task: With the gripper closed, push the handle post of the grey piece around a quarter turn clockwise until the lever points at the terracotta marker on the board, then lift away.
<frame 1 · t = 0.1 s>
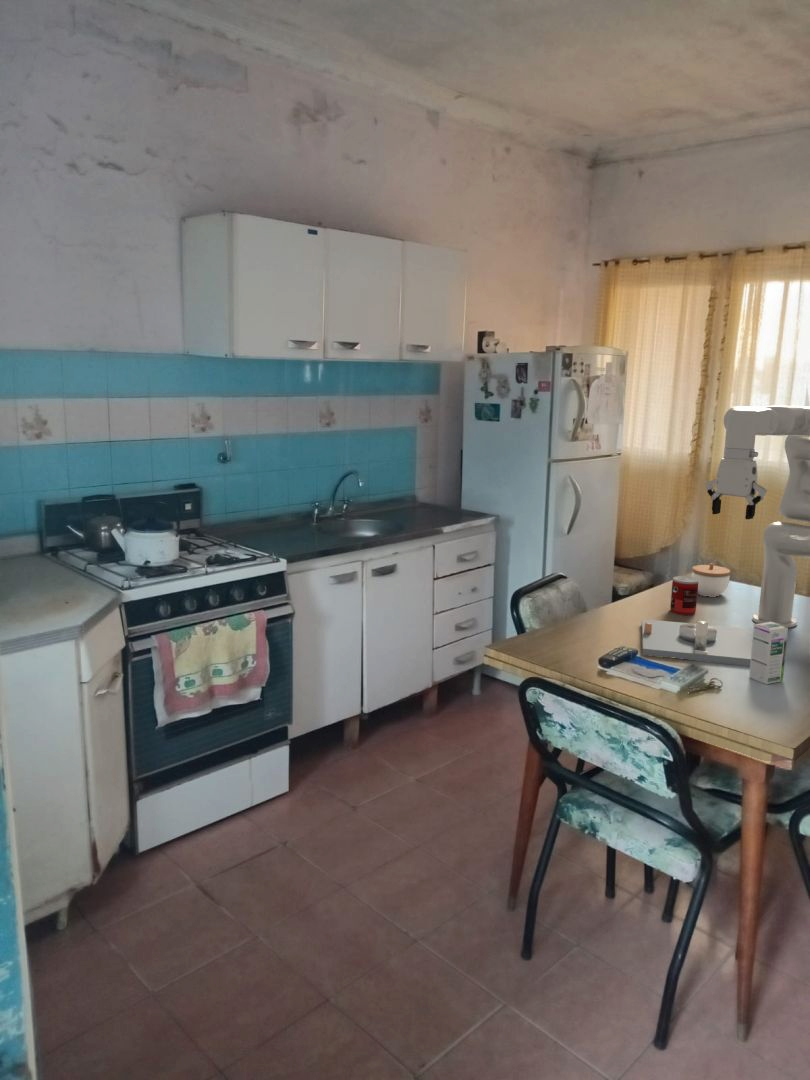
hand: (732, 516, 228), 37 cm above the table, tool pointing down, fingers open, 9 cm apart
syrup box: (765, 680, 209), on the table
lidded bowl: (708, 594, 287), on the table
canned food: (682, 612, 266), on the table
board: (696, 644, 235), on the table
grey piece: (699, 628, 230), point 6 cm above the table, hinge at 0.0°
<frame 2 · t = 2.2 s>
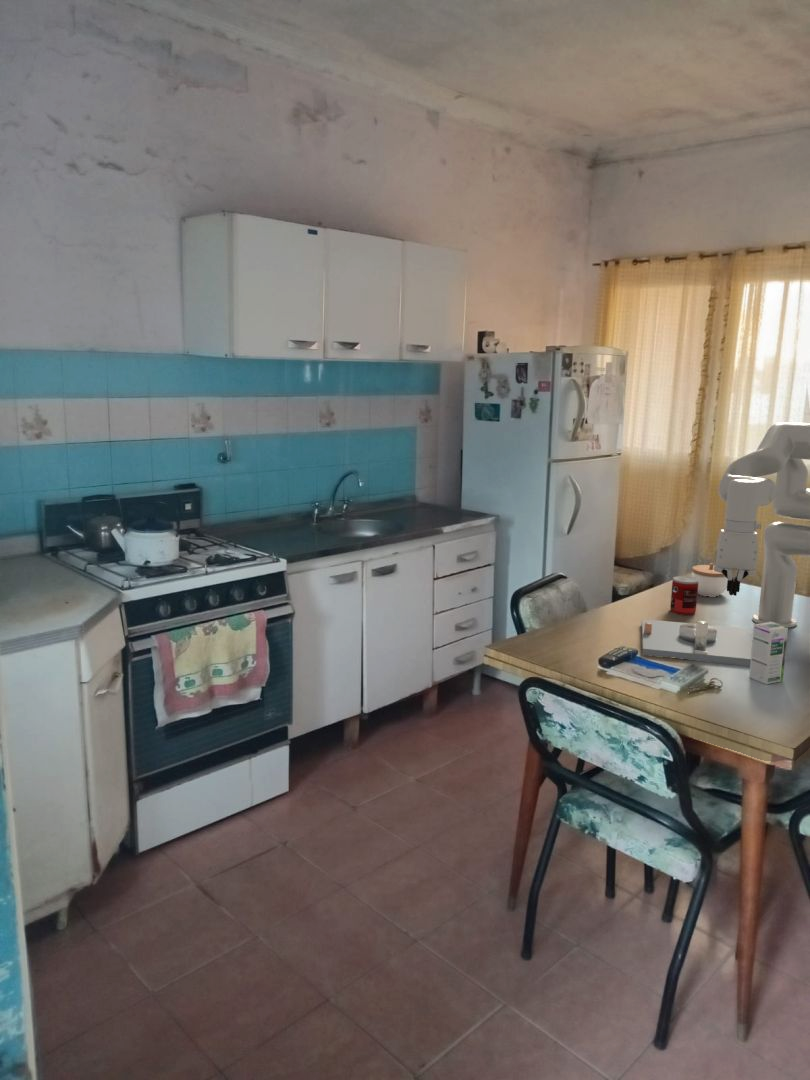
hand: (732, 594, 219), 18 cm above the table, tool pointing down, fingers closed
nothing on the table moved.
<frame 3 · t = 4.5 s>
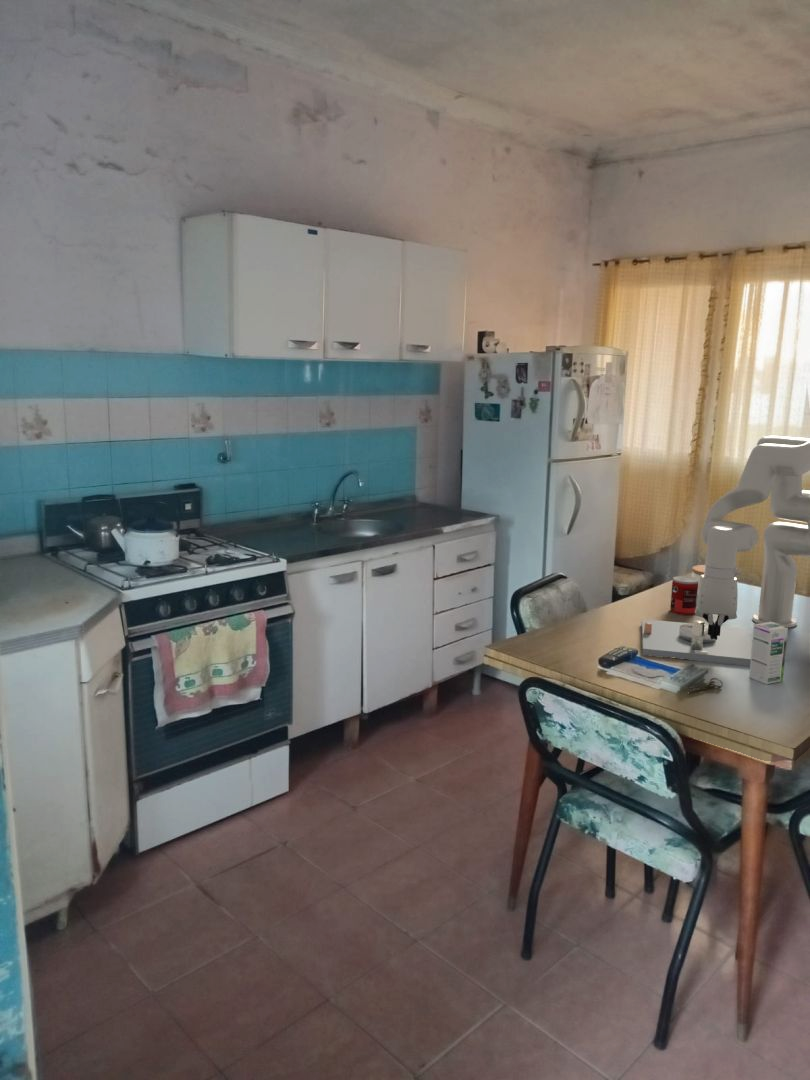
hand: (713, 637, 223), 6 cm above the table, tool pointing down, fingers closed
grey piece: (698, 628, 230), point 6 cm above the table, hinge at -5.2°, touching gripper
everything else where it was.
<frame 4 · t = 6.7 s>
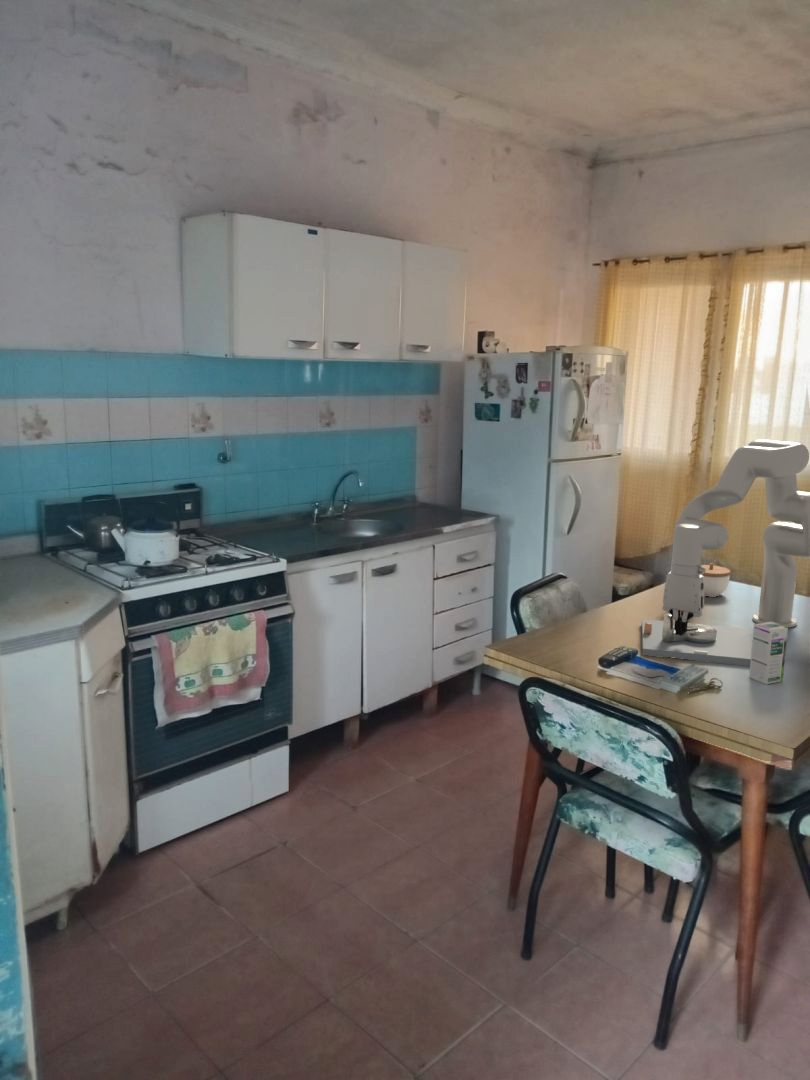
hand: (680, 633, 227), 5 cm above the table, tool pointing down, fingers closed
grey piece: (688, 625, 232), point 6 cm above the table, hinge at -56.6°, touching gripper
everything else where it was.
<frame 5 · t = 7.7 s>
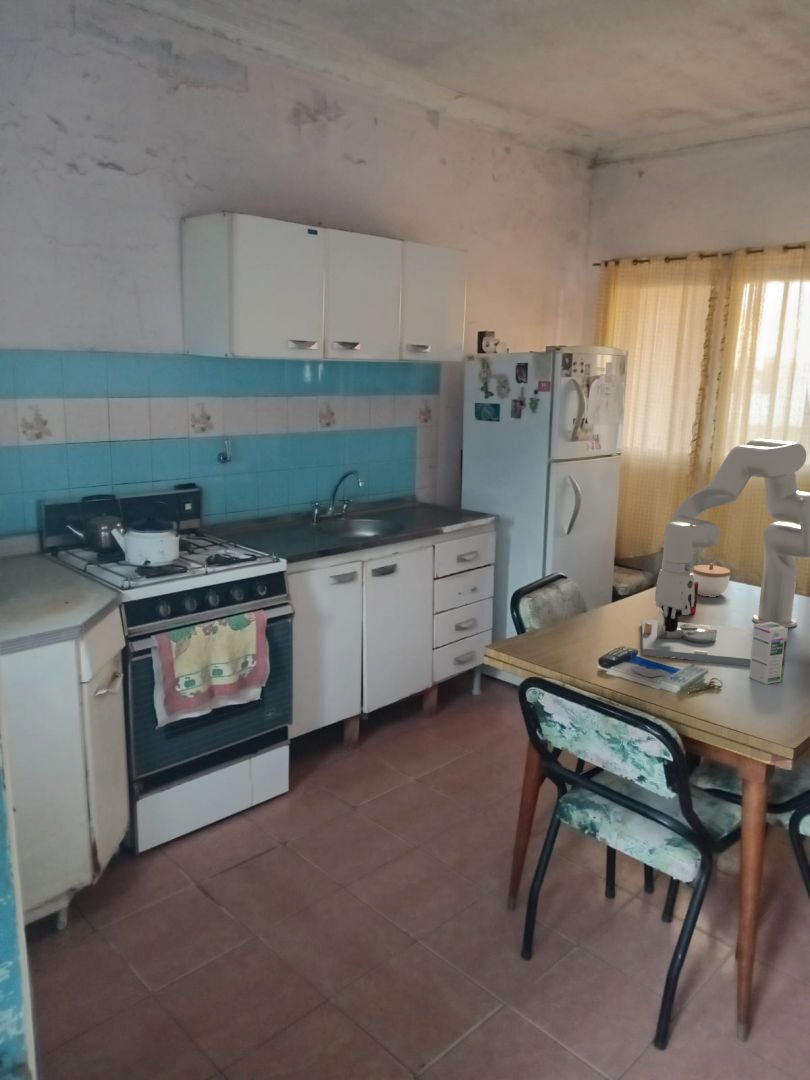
hand: (670, 630, 230), 5 cm above the table, tool pointing down, fingers closed
grey piece: (687, 624, 233), point 6 cm above the table, hinge at -75.2°, touching gripper
everything else where it was.
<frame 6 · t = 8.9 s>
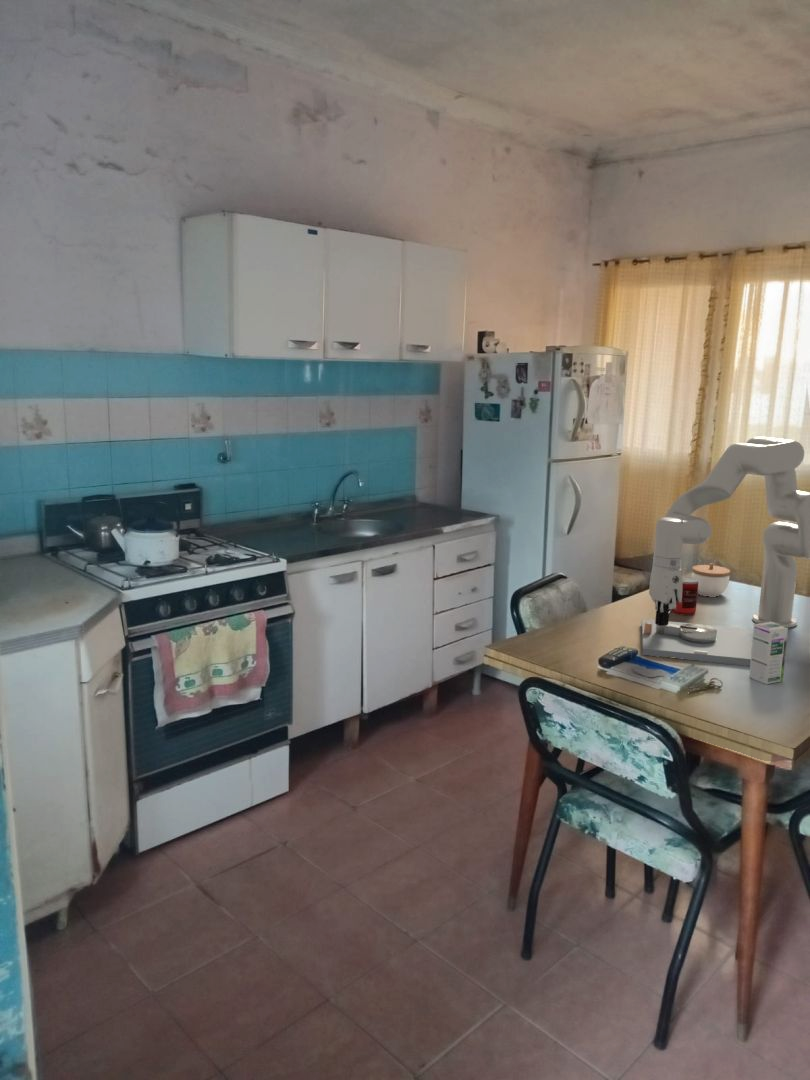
hand: (661, 624, 234), 6 cm above the table, tool pointing down, fingers closed
grey piece: (686, 623, 235), point 6 cm above the table, hinge at -99.9°, touching gripper
everything else where it was.
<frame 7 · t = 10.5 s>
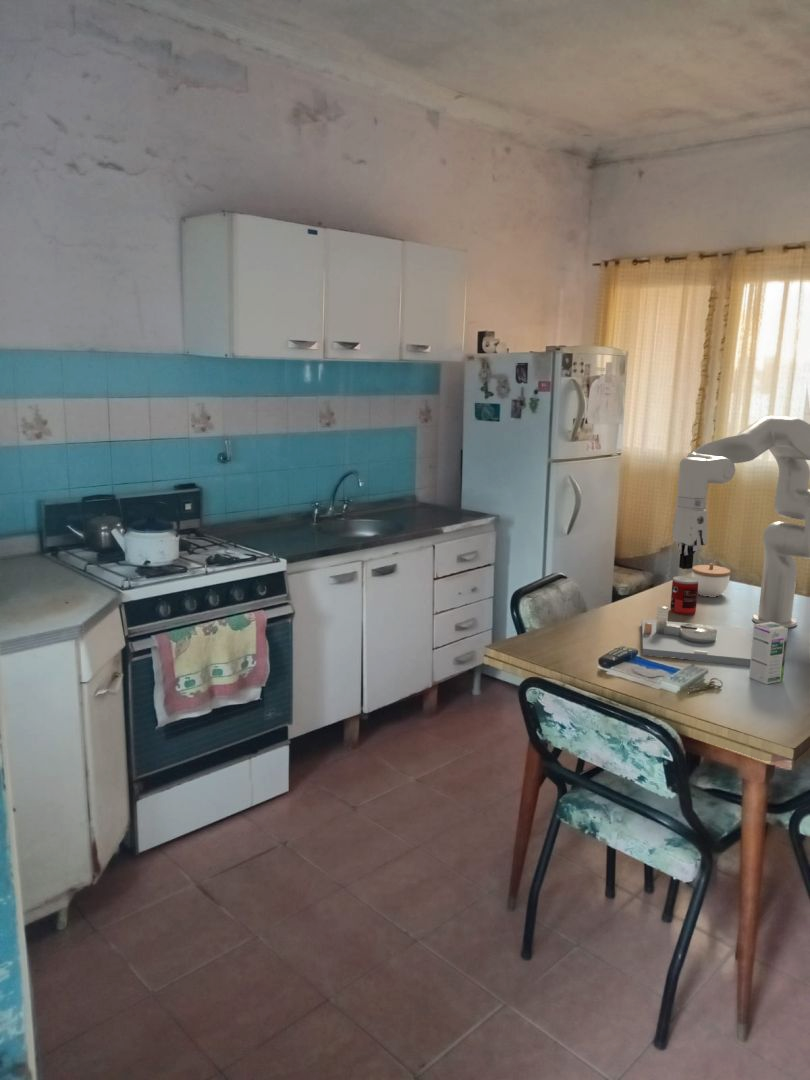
hand: (685, 568, 228), 23 cm above the table, tool pointing down, fingers closed
grey piece: (686, 623, 235), point 6 cm above the table, hinge at -100.5°
everything else where it was.
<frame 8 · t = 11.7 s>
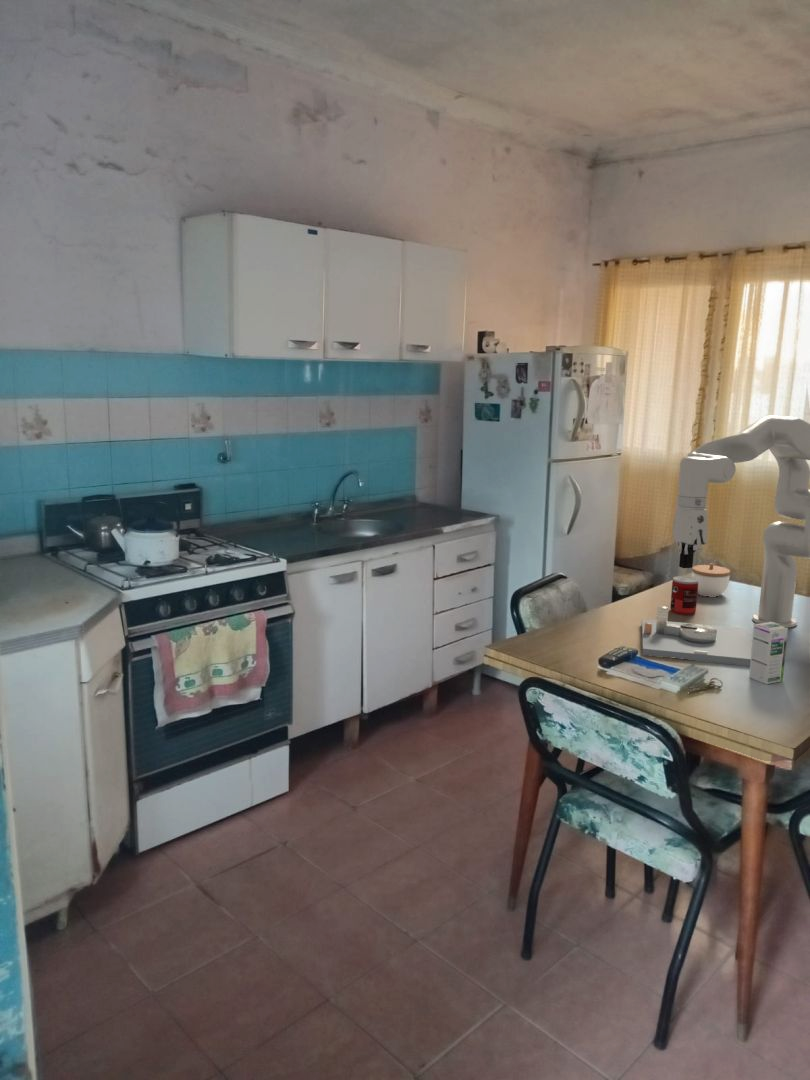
hand: (685, 567, 228), 23 cm above the table, tool pointing down, fingers closed
nothing on the table moved.
at the end: grey piece at -100° (first picture: +0°) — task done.
